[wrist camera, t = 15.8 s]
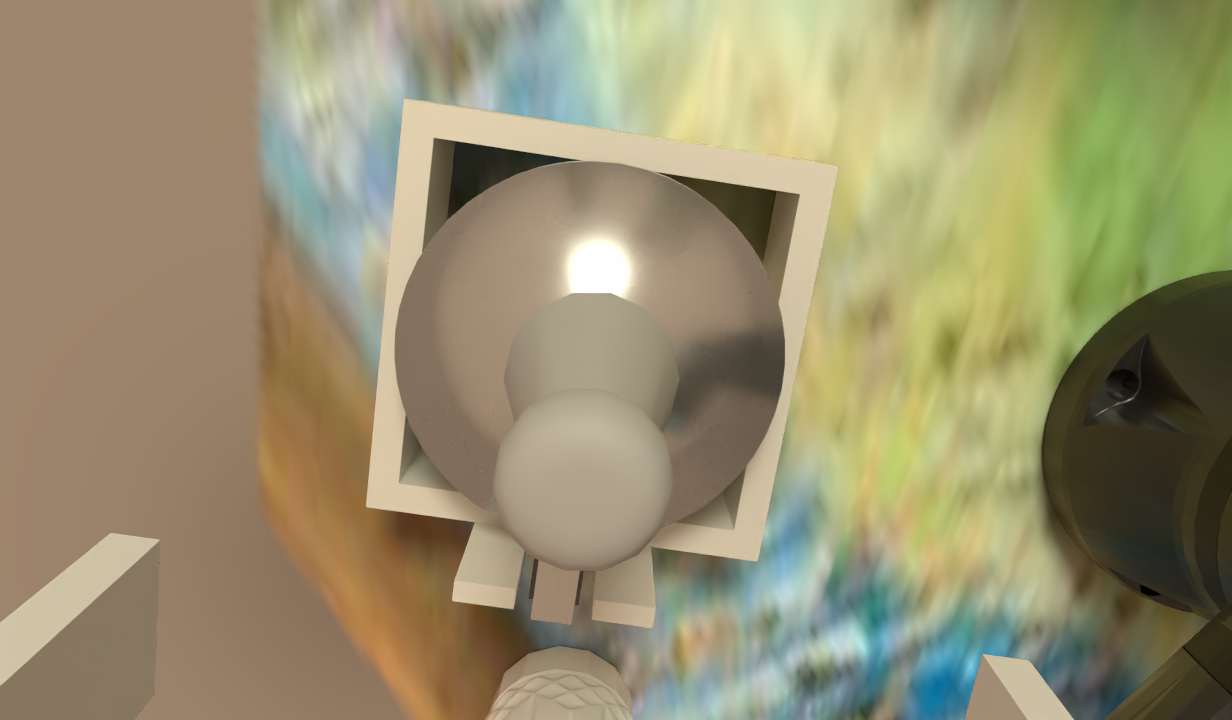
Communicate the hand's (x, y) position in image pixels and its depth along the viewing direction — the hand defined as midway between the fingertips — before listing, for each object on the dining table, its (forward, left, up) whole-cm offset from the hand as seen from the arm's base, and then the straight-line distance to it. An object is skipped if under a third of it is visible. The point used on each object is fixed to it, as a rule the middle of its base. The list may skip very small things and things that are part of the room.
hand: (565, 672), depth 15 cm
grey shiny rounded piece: (-1, +1, -26) cm, 26 cm away
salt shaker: (0, 0, -20) cm, 20 cm away
